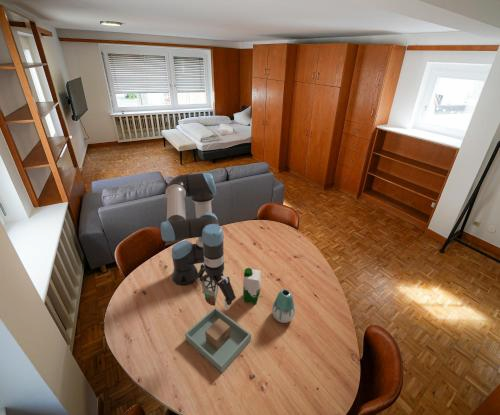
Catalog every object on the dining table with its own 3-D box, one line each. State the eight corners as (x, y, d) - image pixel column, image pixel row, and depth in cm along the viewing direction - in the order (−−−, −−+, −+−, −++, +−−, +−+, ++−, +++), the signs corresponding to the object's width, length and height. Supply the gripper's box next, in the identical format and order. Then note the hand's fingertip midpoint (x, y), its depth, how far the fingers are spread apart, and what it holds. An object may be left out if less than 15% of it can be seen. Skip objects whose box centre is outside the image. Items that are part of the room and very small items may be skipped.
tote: (185, 340, 125) (184, 333, 123) (215, 313, 139) (215, 307, 136) (221, 373, 113) (221, 366, 110) (250, 340, 126) (251, 334, 124)
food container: (205, 284, 121) (204, 268, 115) (218, 285, 121) (218, 269, 115) (199, 307, 110) (198, 291, 105) (214, 309, 110) (214, 292, 105)
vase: (295, 311, 142) (299, 286, 133) (291, 329, 132) (295, 304, 123) (274, 304, 145) (277, 280, 136) (268, 322, 135) (271, 297, 126)
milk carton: (245, 290, 153) (245, 264, 143) (260, 293, 151) (262, 266, 142) (241, 302, 145) (242, 275, 136) (258, 305, 144) (259, 278, 134)
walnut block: (219, 328, 131) (219, 318, 127) (230, 337, 127) (230, 326, 123) (206, 342, 124) (205, 331, 120) (216, 351, 121) (216, 340, 117)
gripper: (185, 252, 106) (189, 289, 117) (231, 283, 93) (231, 322, 104) (199, 243, 111) (202, 280, 122) (245, 271, 98) (244, 309, 109)
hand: (216, 299), depth 113 cm, fingers open, 13 cm apart
